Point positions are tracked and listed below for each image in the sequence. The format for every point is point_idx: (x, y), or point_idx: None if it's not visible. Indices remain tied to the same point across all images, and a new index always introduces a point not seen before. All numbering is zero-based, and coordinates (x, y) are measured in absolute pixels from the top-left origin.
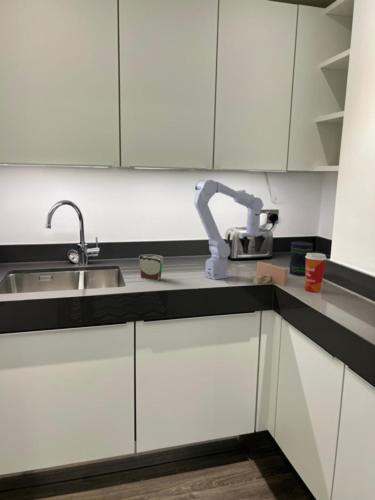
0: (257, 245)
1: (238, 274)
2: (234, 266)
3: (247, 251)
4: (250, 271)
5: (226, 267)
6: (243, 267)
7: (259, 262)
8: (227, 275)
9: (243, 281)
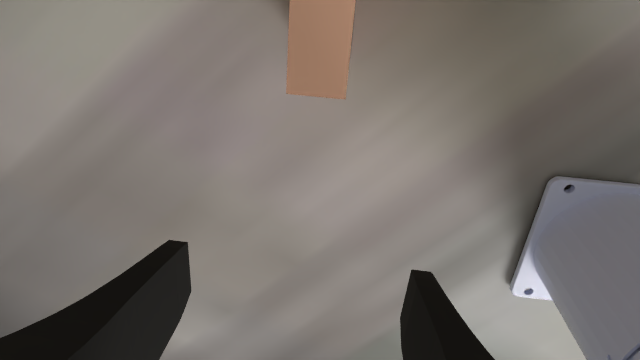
0: (139, 341)
1: (409, 199)
2: (245, 344)
3: (424, 286)
4: (247, 204)
5: (634, 244)
6: (207, 299)
7: (342, 63)
8: (553, 208)
9: (594, 16)
